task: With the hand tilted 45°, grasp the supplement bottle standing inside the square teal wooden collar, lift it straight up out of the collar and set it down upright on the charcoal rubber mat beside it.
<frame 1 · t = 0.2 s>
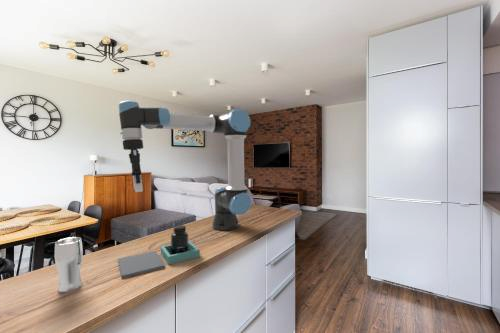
hand: (138, 190, 99), 27 cm above the kitchen counter, tool pointing down, fingers open, 13 cm apart
teal collar: (179, 255, 98), on the kitchen counter
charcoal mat: (140, 264, 90), on the kitchen counter
beer glass: (70, 288, 75), on the kitchen counter
supplement bottle: (179, 255, 98), resting in teal collar
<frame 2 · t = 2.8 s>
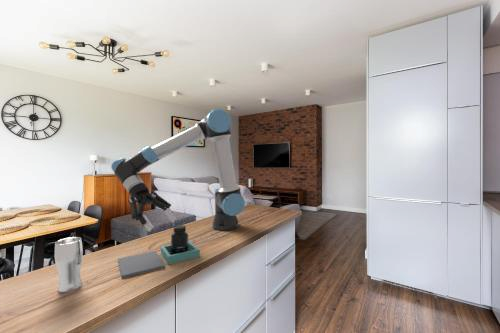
hand: (163, 225, 100), 12 cm above the kitchen counter, tool tilted 45°, fingers open, 13 cm apart
nothing on the kitchen counter moved.
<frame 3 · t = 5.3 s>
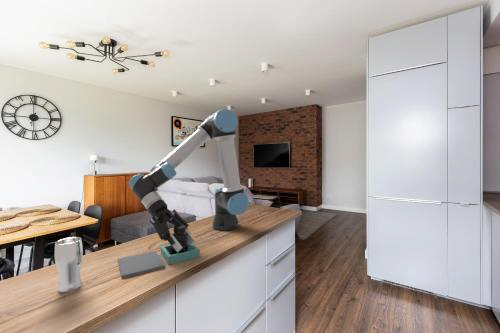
hand: (186, 246, 97), 4 cm above the kitchen counter, tool tilted 45°, fingers open, 8 cm apart
nothing on the kitchen counter moved.
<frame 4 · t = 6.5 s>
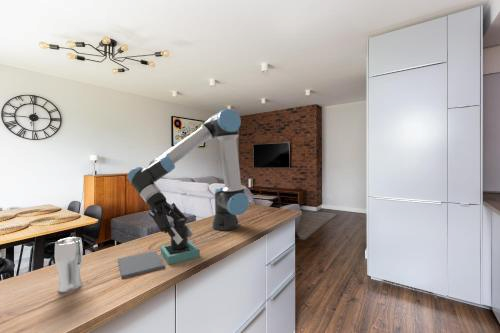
hand: (186, 238, 97), 7 cm above the kitchen counter, tool tilted 45°, fingers closed on supplement bottle, 7 cm apart
supplement bottle: (179, 248, 98), point 3 cm above the kitchen counter, touching gripper
everything else where it was.
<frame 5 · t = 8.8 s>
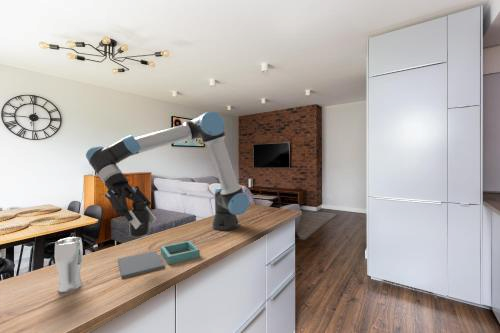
hand: (146, 223, 88), 16 cm above the kitchen counter, tool tilted 45°, fingers closed on supplement bottle, 7 cm apart
supplement bottle: (139, 234, 90), point 12 cm above the kitchen counter, touching gripper
everything else where it was.
when the fingers open (6 cm above the kitchen counter, at t = 11.6 s): supplement bottle drops 1 cm, resting on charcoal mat.
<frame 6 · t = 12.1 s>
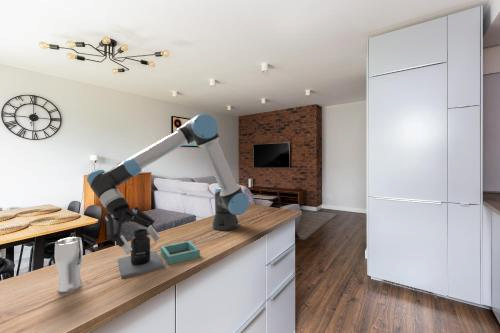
hand: (144, 245, 89), 8 cm above the kitchen counter, tool tilted 45°, fingers open, 13 cm apart
supplement bottle: (140, 262, 90), point 1 cm above the kitchen counter, touching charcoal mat
everything else where it was.
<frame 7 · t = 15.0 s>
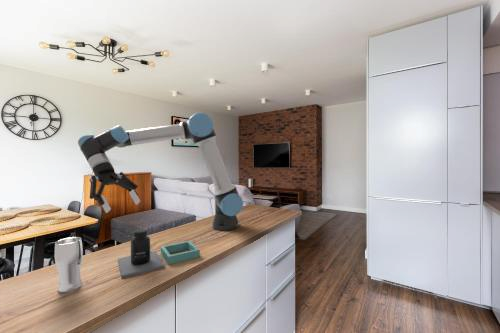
hand: (124, 206, 99), 20 cm above the kitchen counter, tool tilted 40°, fingers open, 13 cm apart
nothing on the kitchen counter moved.
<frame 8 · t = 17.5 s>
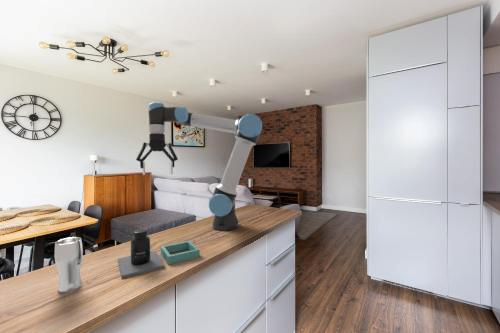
hand: (158, 174, 124), 32 cm above the kitchen counter, tool pointing down, fingers open, 13 cm apart
nothing on the kitchen counter moved.
at the end: supplement bottle inside the target area (0.2 cm from its centre), point 0.8 cm above the kitchen counter; supplement bottle tilted 0°; the gripper is holding nothing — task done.
